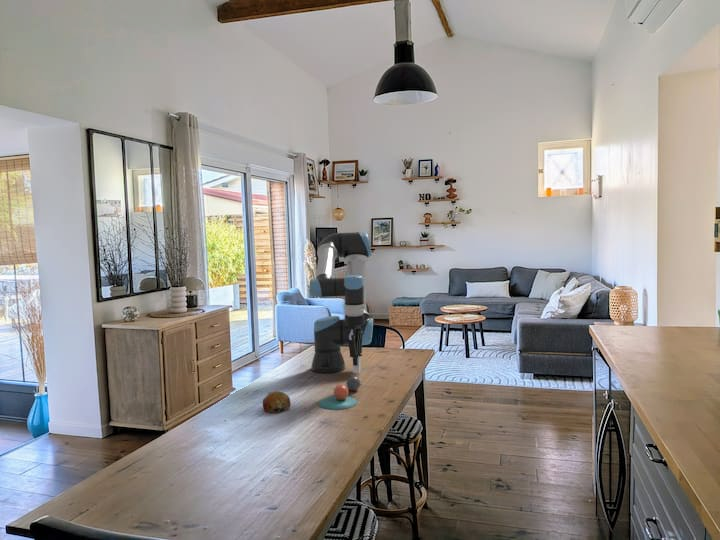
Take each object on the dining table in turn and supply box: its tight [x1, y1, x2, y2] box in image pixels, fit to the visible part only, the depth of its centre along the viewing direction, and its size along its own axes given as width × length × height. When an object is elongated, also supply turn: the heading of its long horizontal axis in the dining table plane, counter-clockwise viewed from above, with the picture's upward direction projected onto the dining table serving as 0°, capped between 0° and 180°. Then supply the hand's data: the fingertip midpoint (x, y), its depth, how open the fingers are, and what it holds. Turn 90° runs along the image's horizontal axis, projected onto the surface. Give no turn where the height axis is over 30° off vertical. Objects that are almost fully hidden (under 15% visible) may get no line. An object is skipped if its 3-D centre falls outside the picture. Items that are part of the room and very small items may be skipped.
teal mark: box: [318, 396, 358, 411], centre depth 192 cm, size 14×14×1 cm
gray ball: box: [345, 375, 361, 391], centre depth 206 cm, size 6×6×6 cm
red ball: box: [333, 384, 349, 400], centre depth 195 cm, size 6×6×6 cm
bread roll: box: [262, 390, 291, 414], centre depth 188 cm, size 10×10×8 cm
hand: (356, 372), depth 212 cm, fingers closed
